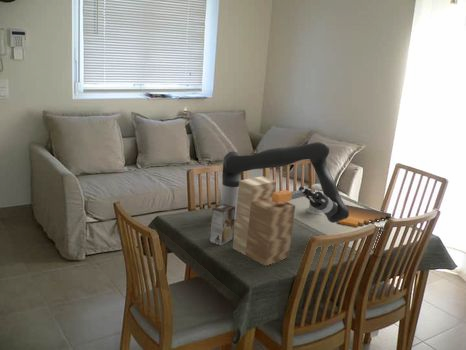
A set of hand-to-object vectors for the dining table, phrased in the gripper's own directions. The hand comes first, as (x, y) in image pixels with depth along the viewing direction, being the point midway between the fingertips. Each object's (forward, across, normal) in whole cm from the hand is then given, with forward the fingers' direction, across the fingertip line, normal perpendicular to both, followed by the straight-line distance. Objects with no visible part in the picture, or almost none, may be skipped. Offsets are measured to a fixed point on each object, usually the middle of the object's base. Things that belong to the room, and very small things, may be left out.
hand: (302, 189), depth 220 cm
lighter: (-46, +18, +7) cm, 50 cm away
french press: (-56, -26, +1) cm, 62 cm away
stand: (-1, -6, +32) cm, 33 cm away
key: (+4, 0, +5) cm, 7 cm away
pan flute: (-68, -4, -6) cm, 68 cm away
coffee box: (+4, -25, +36) cm, 43 cm away
